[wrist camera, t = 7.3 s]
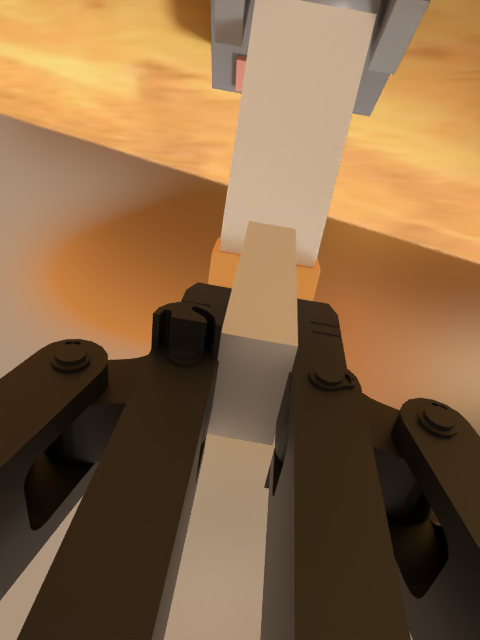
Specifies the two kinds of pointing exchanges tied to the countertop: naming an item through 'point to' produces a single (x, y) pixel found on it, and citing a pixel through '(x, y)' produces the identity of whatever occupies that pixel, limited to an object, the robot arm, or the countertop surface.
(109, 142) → the countertop surface
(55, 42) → the countertop surface
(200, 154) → the countertop surface
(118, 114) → the countertop surface
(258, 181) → the handle
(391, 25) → the switch plate
